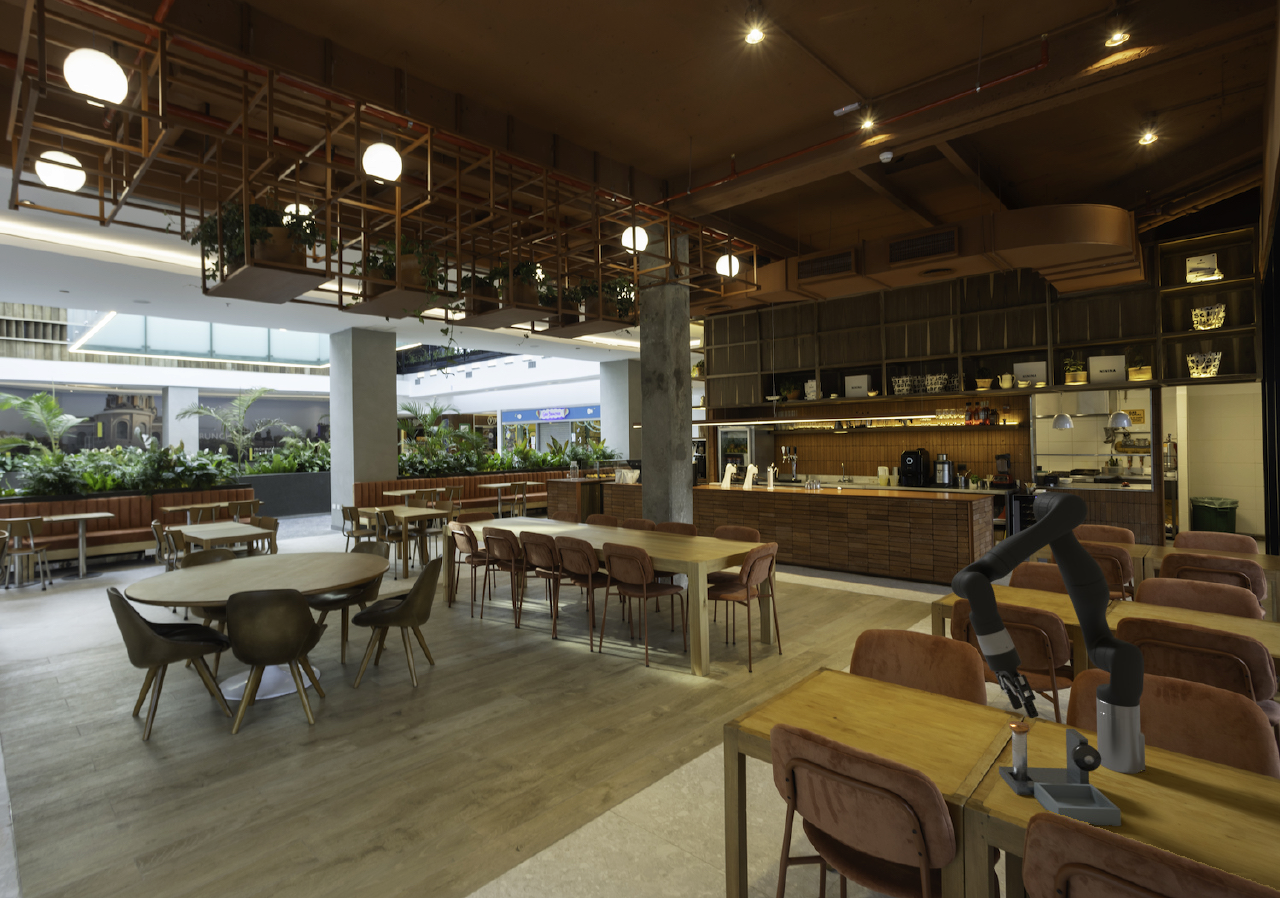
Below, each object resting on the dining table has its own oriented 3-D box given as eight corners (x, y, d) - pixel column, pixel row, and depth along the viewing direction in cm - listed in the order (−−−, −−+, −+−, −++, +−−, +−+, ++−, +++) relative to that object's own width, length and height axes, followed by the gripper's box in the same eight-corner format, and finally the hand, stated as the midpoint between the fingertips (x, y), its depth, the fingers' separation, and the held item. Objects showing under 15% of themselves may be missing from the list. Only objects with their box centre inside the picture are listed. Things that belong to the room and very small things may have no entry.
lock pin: (1025, 780, 165) (1024, 721, 165) (1034, 789, 161) (1032, 728, 161) (1007, 779, 165) (1005, 720, 165) (1015, 788, 161) (1013, 728, 161)
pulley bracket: (1079, 776, 166) (1078, 725, 166) (1103, 798, 156) (1102, 743, 156) (999, 774, 168) (997, 724, 168) (1017, 795, 158) (1016, 741, 158)
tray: (1092, 799, 156) (1091, 784, 156) (1120, 826, 145) (1120, 809, 145) (1034, 797, 157) (1034, 782, 157) (1058, 823, 146) (1058, 807, 146)
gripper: (1025, 648, 157) (1055, 715, 154) (1000, 639, 171) (1027, 701, 168) (995, 658, 158) (1024, 725, 155) (973, 648, 172) (999, 710, 169)
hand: (1026, 712), depth 161 cm, fingers open, 8 cm apart
